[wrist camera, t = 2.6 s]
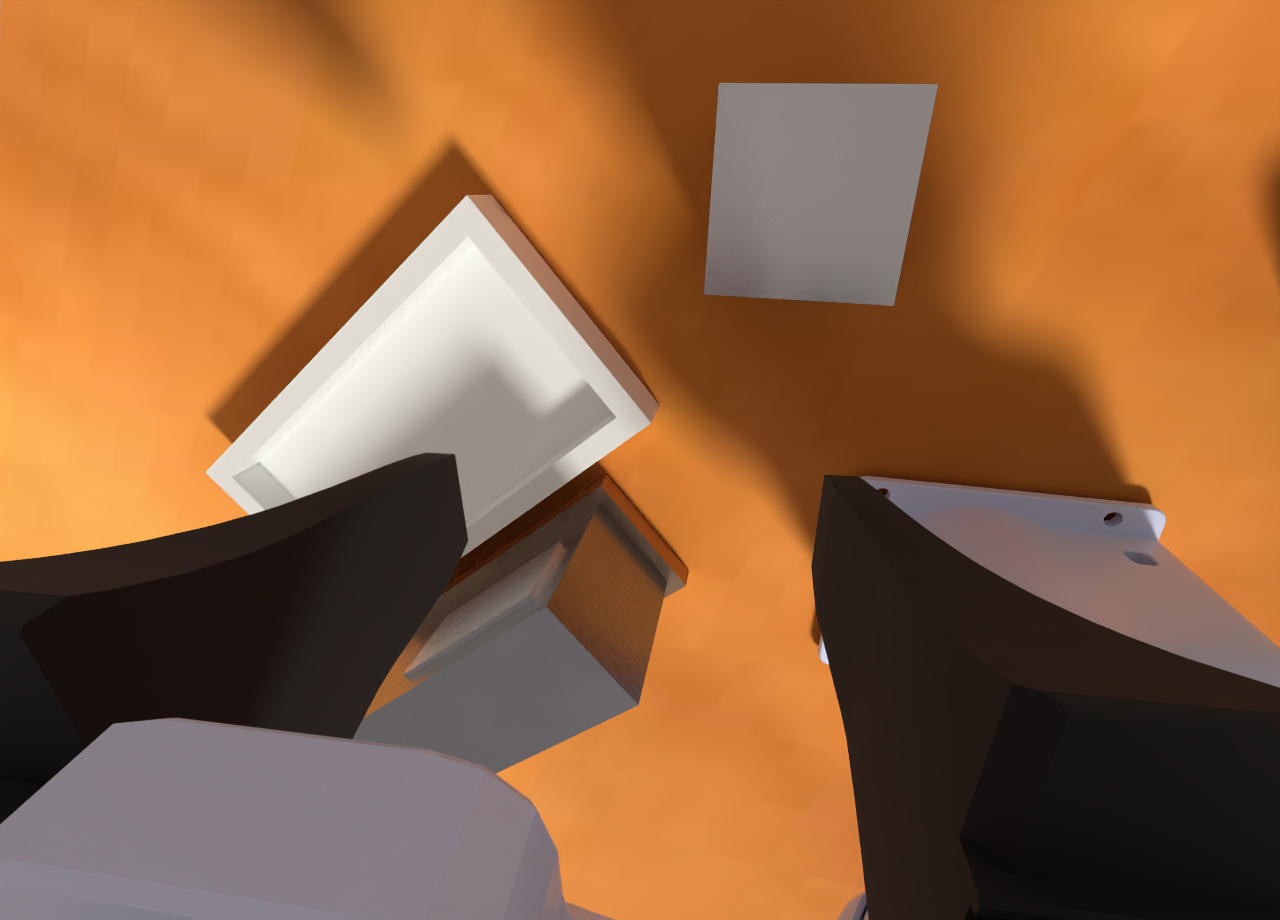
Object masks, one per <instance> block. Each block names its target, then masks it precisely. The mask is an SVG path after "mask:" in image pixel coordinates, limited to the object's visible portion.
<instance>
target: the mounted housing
mask: <svg viewBox="0 0 1280 920" xmlns="http://www.w3.org/2000/svg"><path fill="white" fill-rule="evenodd" d="M688 572H689V570H688V569H687V568H686V567H685V565H684V564H683V563H682V562H681V561H680V560H679V558H678V557H677V556H676V555H675V554H674V552H673V551H672V550H671V549H670V548H669V547H668V545H667V544H666V543H665V542H664V541H663V540H662V538H661V537H660V536H659V535H658V534H657V532H656V531H655V530H654V529H653V528H652V527H651V525H650V524H649V523H648V522H647V521H646V520H645V518H644V517H643V516H642V515H641V514H640V512H639V511H638V510H637V509H636V508H635V507H634V505H633V504H632V503H631V502H630V501H629V499H628V498H627V497H626V496H625V495H624V494H623V492H622V491H621V490H620V489H619V488H618V487H617V485H616V484H615V483H614V482H613V481H612V479H611V478H610V477H609V476H608V475H605V476H604V477H602V478H601V479H599V480H598V481H597V482H595V483H594V484H592V485H591V486H589V487H588V488H586V489H585V490H584V491H582V492H581V493H579V494H578V495H576V496H575V497H573V498H572V499H571V500H569V501H568V502H566V503H565V504H563V505H562V506H560V507H559V508H558V509H556V510H555V511H553V512H552V513H550V514H549V515H547V516H546V517H545V518H543V519H542V520H540V521H539V522H537V523H536V524H534V525H533V526H532V527H530V528H529V529H527V530H526V531H524V532H523V533H521V534H520V535H519V536H517V537H516V538H514V539H513V540H511V541H510V542H508V543H507V544H506V545H504V546H503V547H501V548H500V549H498V550H497V551H495V552H494V553H493V554H491V555H490V556H488V557H487V558H485V559H484V560H482V561H481V562H480V563H478V564H477V565H475V566H474V567H472V568H471V569H469V570H468V571H467V572H465V573H464V574H462V575H461V576H459V577H458V578H456V579H455V580H454V581H452V582H451V583H449V584H448V585H447V586H446V587H445V589H444V591H443V592H442V594H441V595H440V597H439V598H438V600H437V601H436V603H435V604H434V606H433V607H432V609H431V610H430V612H429V613H428V615H427V616H426V618H425V619H424V621H423V622H422V624H421V625H420V627H419V628H418V630H417V631H416V633H415V634H414V636H413V637H412V638H411V640H410V641H409V643H408V644H407V646H406V647H405V649H404V650H403V652H402V653H401V655H400V656H399V658H398V659H397V661H396V662H395V664H394V665H393V667H392V668H391V670H390V671H389V673H388V675H387V676H386V678H385V680H384V681H383V683H382V685H381V686H380V688H379V690H378V691H377V693H376V695H375V697H374V699H373V701H372V703H371V705H370V707H369V709H368V710H367V712H366V714H365V716H364V718H363V720H362V722H361V724H360V726H359V728H358V730H357V731H356V733H355V735H354V737H353V740H361V741H369V742H377V743H385V744H393V745H401V746H409V747H418V748H426V749H430V750H433V751H437V752H440V753H443V754H447V755H450V756H453V757H456V758H460V759H463V760H466V761H469V762H473V763H476V764H479V765H482V766H485V767H487V768H488V769H490V770H491V771H492V772H494V773H495V774H496V773H498V772H500V771H502V770H504V769H506V768H508V767H510V766H513V765H515V764H517V763H519V762H521V761H523V760H525V759H527V758H529V757H531V756H533V755H535V754H538V753H540V752H542V751H544V750H546V749H548V748H550V747H552V746H554V745H556V744H558V743H560V742H563V741H565V740H567V739H569V738H571V737H573V736H575V735H577V734H579V733H581V732H583V731H585V730H588V729H590V728H592V727H594V726H596V725H598V724H600V723H602V722H604V721H606V720H608V719H610V718H613V717H615V716H617V715H619V714H621V713H623V712H625V711H627V710H629V709H631V708H633V707H635V706H638V705H639V700H640V696H641V692H642V688H643V683H644V679H645V675H646V671H647V666H648V662H649V658H650V654H651V649H652V645H653V641H654V637H655V632H656V628H657V624H658V620H659V615H660V611H661V607H662V603H663V599H664V598H665V597H667V596H669V595H670V594H672V593H674V592H676V591H677V590H679V589H681V588H683V587H685V586H686V583H687V578H688Z"/></svg>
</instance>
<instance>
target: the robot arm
mask: <svg viewBox="0 0 1280 920" xmlns="http://www.w3.org/2000/svg"><path fill="white" fill-rule="evenodd" d="M880 488H885V489H888V492H887V494H886V495H883V494H881V493H880V492H879V491H878V489H880ZM1111 512H1116V515H1115V516H1114V517H1113V518H1112V519H1110V520H1105V521H1104V518H1105V516H1106V515H1107V514H1109V513H1111ZM1165 523H1166V517H1165V514H1164V513H1163V512H1162V511H1160V510H1159V509H1158V508H1157V507H1155V506H1154V505H1150V504H1144V503H1134V502H1124V501H1114V500H1104V499H1094V498H1084V497H1074V496H1064V495H1054V494H1044V493H1034V492H1024V491H1014V490H1004V489H994V488H984V487H974V486H964V485H954V484H944V483H934V482H924V481H914V480H904V479H894V478H884V477H874V476H861V477H854V476H836V475H824V482H823V489H822V496H821V503H820V510H819V517H818V524H817V531H816V538H815V545H814V552H813V559H812V577H813V588H814V597H815V606H816V613H817V617H818V622H819V626H820V630H821V637H820V642H819V647H818V651H819V658H820V659H821V661H822V662H824V663H825V664H828V665H829V666H830V670H831V674H832V678H833V682H834V686H835V690H836V694H837V698H838V702H839V706H840V710H841V714H842V719H843V724H844V729H845V734H846V739H847V745H848V753H849V760H850V767H851V775H852V782H853V789H854V797H855V805H856V813H857V821H858V830H859V838H860V846H861V854H862V863H863V872H864V882H865V891H864V892H862V893H859V894H858V895H857V896H856V897H854V898H853V899H852V900H851V901H849V902H848V904H847V905H846V907H845V908H844V910H843V911H842V913H841V915H840V916H839V918H838V920H1280V648H1279V647H1278V646H1277V645H1276V644H1274V643H1273V642H1272V641H1271V640H1270V639H1269V638H1268V637H1266V636H1265V635H1264V634H1263V633H1262V632H1261V631H1260V630H1258V629H1257V628H1256V627H1255V626H1254V625H1253V624H1252V623H1250V622H1249V621H1248V620H1247V619H1246V618H1245V617H1244V616H1242V615H1241V614H1240V613H1239V612H1238V611H1237V610H1236V609H1235V608H1233V607H1232V606H1231V605H1230V604H1229V603H1228V602H1227V601H1225V600H1224V599H1223V598H1222V597H1221V596H1220V595H1219V594H1217V593H1216V592H1215V591H1214V590H1213V589H1212V588H1211V587H1209V586H1208V585H1207V584H1206V583H1205V582H1204V581H1203V580H1202V579H1200V578H1199V577H1198V576H1197V575H1196V574H1195V573H1194V572H1192V571H1191V570H1190V569H1189V568H1188V567H1187V566H1186V565H1184V564H1183V563H1182V562H1181V561H1180V560H1179V559H1178V558H1176V557H1175V556H1174V555H1173V554H1172V553H1171V552H1170V551H1169V550H1167V549H1166V548H1165V547H1164V546H1163V545H1162V544H1161V543H1159V542H1158V539H1159V537H1160V535H1161V532H1162V530H1163V528H1164V526H1165ZM467 543H468V535H467V528H466V522H465V515H464V509H463V503H462V496H461V490H460V483H459V477H458V470H457V464H456V457H455V454H443V453H422V454H418V455H414V456H411V457H408V458H405V459H402V460H399V461H396V462H393V463H391V464H388V465H385V466H383V467H380V468H378V469H375V470H373V471H370V472H367V473H365V474H362V475H360V476H357V477H355V478H352V479H350V480H347V481H345V482H342V483H340V484H337V485H335V486H332V487H329V488H326V489H324V490H321V491H318V492H315V493H313V494H310V495H307V496H304V497H302V498H299V499H296V500H293V501H291V502H288V503H285V504H283V505H280V506H277V507H273V508H270V509H267V510H264V511H261V512H258V513H255V514H251V515H248V516H244V517H241V518H237V519H234V520H230V521H227V522H223V523H220V524H216V525H212V526H208V527H204V528H199V529H195V530H190V531H186V532H181V533H177V534H172V535H168V536H164V537H159V538H155V539H150V540H146V541H141V542H136V543H130V544H124V545H119V546H113V547H107V548H102V549H96V550H89V551H82V552H76V553H69V554H63V555H55V556H48V557H40V558H32V559H23V560H13V561H4V562H0V920H614V919H612V918H609V917H606V916H603V915H601V914H598V913H595V912H592V911H590V910H587V909H584V908H581V907H579V906H576V905H573V904H570V903H567V902H565V901H564V897H563V894H562V886H561V877H560V867H559V858H558V851H557V849H556V847H555V845H554V843H553V841H552V839H551V837H550V835H549V833H548V831H547V829H546V827H545V825H544V823H543V821H542V819H541V817H540V815H539V813H538V811H537V809H536V808H535V806H534V805H533V803H532V802H531V800H530V799H528V798H527V797H526V796H524V795H523V794H522V793H520V792H519V791H518V790H516V789H515V788H514V787H512V786H511V785H510V784H508V783H507V782H506V781H504V780H503V779H502V778H500V777H499V776H498V775H496V774H495V773H494V772H492V771H491V770H490V769H488V768H487V767H485V766H482V765H479V764H476V763H473V762H469V761H466V760H463V759H460V758H456V757H453V756H450V755H447V754H443V753H440V752H437V751H433V750H430V749H426V748H418V747H409V746H401V745H393V744H385V743H377V742H369V741H361V740H353V737H354V735H355V733H356V731H357V730H358V728H359V726H360V724H361V722H362V720H363V718H364V716H365V714H366V712H367V710H368V709H369V707H370V705H371V703H372V701H373V699H374V697H375V695H376V693H377V691H378V690H379V688H380V686H381V685H382V683H383V681H384V680H385V678H386V676H387V675H388V673H389V671H390V670H391V668H392V667H393V665H394V664H395V662H396V661H397V659H398V658H399V656H400V655H401V653H402V652H403V650H404V649H405V647H406V646H407V644H408V643H409V641H410V640H411V638H412V637H413V636H414V634H415V633H416V631H417V630H418V628H419V627H420V625H421V624H422V622H423V621H424V619H425V618H426V616H427V615H428V613H429V612H430V610H431V609H432V607H433V606H434V604H435V603H436V601H437V600H438V598H439V597H440V595H441V594H442V592H443V591H444V589H445V587H446V586H447V584H448V583H449V581H450V579H451V577H452V575H453V573H454V571H455V569H456V567H457V565H458V563H459V561H460V559H461V556H462V554H463V552H464V549H465V547H466V545H467Z"/></svg>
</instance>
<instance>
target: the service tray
mask: <svg viewBox="0 0 1280 920" xmlns="http://www.w3.org/2000/svg"><path fill="white" fill-rule="evenodd" d="M658 407H659V404H658V402H657V401H656V400H655V399H654V397H653V396H652V395H651V394H650V392H649V391H648V390H647V389H646V387H645V386H644V385H643V384H642V382H641V381H640V380H639V379H638V377H637V376H636V375H635V374H634V372H633V371H632V370H631V369H630V367H629V366H628V365H627V364H626V362H625V361H624V360H623V359H622V357H621V356H620V355H619V354H618V352H617V351H616V350H615V349H614V347H613V346H612V345H611V344H610V342H609V341H608V340H607V339H606V337H605V336H604V335H603V334H602V332H601V331H600V330H599V329H598V327H597V326H596V325H595V324H594V322H593V321H592V320H591V319H590V317H589V316H588V315H587V313H586V312H585V311H584V310H583V308H582V307H581V306H580V305H579V303H578V302H577V301H576V300H575V298H574V297H573V296H572V295H571V293H570V292H569V291H568V290H567V288H566V287H565V286H564V285H563V283H562V282H561V281H560V280H559V278H558V277H557V276H556V275H555V273H554V272H553V271H552V270H551V268H550V267H549V266H548V265H547V263H546V262H545V261H544V260H543V258H542V257H541V256H540V255H539V253H538V252H537V251H536V250H535V248H534V247H533V246H532V245H531V243H530V242H529V241H528V240H527V238H526V237H525V236H524V235H523V233H522V232H521V231H520V230H519V228H518V227H517V226H516V224H515V223H514V222H513V221H512V219H511V218H510V217H509V216H508V214H507V213H506V212H505V211H504V209H503V208H502V207H501V206H500V204H499V203H498V202H497V201H496V199H495V198H494V197H493V196H492V195H466V196H465V198H464V199H463V200H462V201H461V202H460V203H459V204H458V205H457V206H456V207H455V208H454V209H453V210H452V211H451V212H450V213H449V215H448V216H447V217H446V218H445V219H444V220H443V221H442V222H441V223H440V224H439V225H438V226H437V227H436V228H435V229H434V230H433V232H432V233H431V234H430V235H429V236H428V237H427V238H426V239H425V240H424V241H423V242H422V243H421V244H420V245H419V246H418V247H417V249H416V250H415V251H414V252H413V253H412V254H411V255H410V256H409V257H408V258H407V259H406V260H405V261H404V262H403V263H402V264H401V265H400V267H399V268H398V269H397V270H396V271H395V272H394V273H393V274H392V275H391V276H390V277H389V278H388V279H387V280H386V281H385V282H384V284H383V285H382V286H381V287H380V288H379V289H378V290H377V291H376V292H375V293H374V294H373V295H372V296H371V297H370V298H369V299H368V301H367V302H366V303H365V304H364V305H363V306H362V307H361V308H360V309H359V310H358V311H357V312H356V313H355V314H354V315H353V316H352V318H351V319H350V320H349V321H348V322H347V323H346V324H345V325H344V326H343V327H342V328H341V329H340V330H339V331H338V332H337V333H336V335H335V336H334V337H333V338H332V339H331V340H330V341H329V342H328V343H327V344H326V345H325V346H324V347H323V348H322V349H321V350H320V351H319V353H318V354H317V355H316V356H315V357H314V358H313V359H312V360H311V361H310V362H309V363H308V364H307V365H306V366H305V367H304V368H303V370H302V371H301V372H300V373H299V374H298V375H297V376H296V377H295V378H294V379H293V380H292V381H291V382H290V383H289V384H288V385H287V387H286V388H285V389H284V390H283V391H282V392H281V393H280V394H279V395H278V396H277V397H276V398H275V399H274V400H273V401H272V402H271V404H270V405H269V406H268V407H267V408H266V409H265V410H264V411H263V412H262V413H261V414H260V415H259V416H258V417H257V418H256V419H255V420H254V422H253V423H252V424H251V425H250V426H249V427H248V428H247V429H246V430H245V431H244V432H243V433H242V434H241V435H240V436H239V437H238V439H237V440H236V441H235V442H234V443H233V444H232V445H231V446H230V447H229V448H228V449H227V450H226V451H225V452H224V453H223V454H222V456H221V457H220V458H219V459H218V460H217V461H216V462H215V463H214V464H213V465H212V466H211V467H210V468H209V469H208V470H207V471H206V473H207V474H208V475H209V476H210V477H211V478H212V479H213V480H214V481H215V482H216V483H217V484H218V485H219V486H220V487H221V488H222V489H223V490H224V491H225V492H226V493H227V494H228V495H229V496H230V497H231V498H232V499H234V500H235V501H236V502H237V503H238V504H239V505H240V506H241V507H242V508H243V509H244V510H245V511H246V512H247V513H248V514H249V515H251V514H255V513H258V512H261V511H264V510H267V509H270V508H273V507H277V506H280V505H283V504H285V503H288V502H291V501H293V500H296V499H299V498H302V497H304V496H307V495H310V494H313V493H315V492H318V491H321V490H324V489H326V488H329V487H332V486H335V485H337V484H340V483H342V482H345V481H347V480H350V479H352V478H355V477H357V476H360V475H362V474H365V473H367V472H370V471H373V470H375V469H378V468H380V467H383V466H385V465H388V464H391V463H393V462H396V461H399V460H402V459H405V458H408V457H411V456H414V455H418V454H422V453H443V454H455V457H456V464H457V470H458V477H459V483H460V490H461V496H462V503H463V509H464V515H465V522H466V528H467V535H468V543H467V545H466V547H465V549H464V552H463V554H462V556H461V558H462V557H463V556H464V555H466V554H467V553H469V552H470V551H471V550H473V549H474V548H476V547H477V546H479V545H480V544H481V543H483V542H484V541H486V540H487V539H488V538H490V537H491V536H493V535H494V534H495V533H497V532H498V531H500V530H501V529H503V528H504V527H505V526H507V525H508V524H510V523H511V522H512V521H514V520H515V519H517V518H518V517H519V516H521V515H522V514H524V513H525V512H526V511H528V510H529V509H531V508H532V507H534V506H535V505H536V504H538V503H539V502H541V501H542V500H543V499H545V498H546V497H548V496H549V495H550V494H552V493H553V492H555V491H556V490H557V489H559V488H560V487H562V486H563V485H565V484H566V483H567V482H569V481H570V480H572V479H573V478H574V477H576V476H577V475H579V474H580V473H581V472H583V471H584V470H586V469H587V468H588V467H590V466H591V465H593V464H594V463H596V462H597V461H598V460H600V459H601V458H603V457H604V456H605V455H607V454H608V453H610V452H611V451H612V450H614V449H615V448H617V447H618V446H620V445H621V444H622V443H624V442H625V441H627V440H628V439H629V438H631V437H632V436H634V435H635V434H636V433H638V432H639V431H641V430H642V429H643V428H645V427H646V426H648V425H649V424H651V422H652V420H653V418H654V416H655V414H656V412H657V409H658Z"/></svg>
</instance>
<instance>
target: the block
mask: <svg viewBox="0 0 1280 920" xmlns="http://www.w3.org/2000/svg"><path fill="white" fill-rule="evenodd" d="M937 88H938V84H832V83H719V90H718V104H717V118H716V132H715V146H714V160H713V174H712V188H711V201H710V215H709V229H708V243H707V257H706V271H705V285H704V295H719V296H736V297H753V298H770V299H787V300H804V301H821V302H838V303H855V304H872V305H889V306H894V302H895V297H896V292H897V287H898V282H899V277H900V272H901V267H902V262H903V257H904V252H905V247H906V242H907V237H908V232H909V227H910V222H911V217H912V212H913V208H914V203H915V198H916V193H917V188H918V183H919V178H920V173H921V168H922V163H923V158H924V153H925V148H926V143H927V138H928V133H929V128H930V123H931V118H932V113H933V108H934V103H935V98H936V93H937Z"/></svg>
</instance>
